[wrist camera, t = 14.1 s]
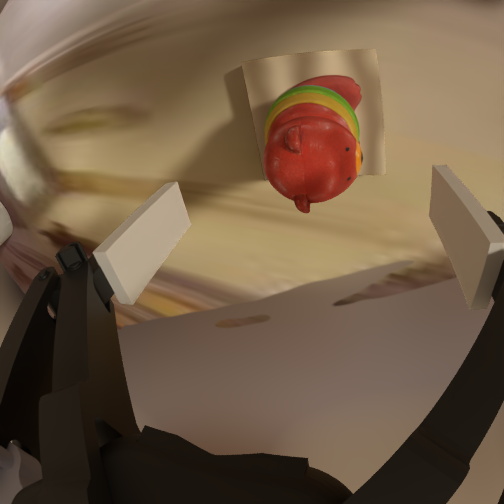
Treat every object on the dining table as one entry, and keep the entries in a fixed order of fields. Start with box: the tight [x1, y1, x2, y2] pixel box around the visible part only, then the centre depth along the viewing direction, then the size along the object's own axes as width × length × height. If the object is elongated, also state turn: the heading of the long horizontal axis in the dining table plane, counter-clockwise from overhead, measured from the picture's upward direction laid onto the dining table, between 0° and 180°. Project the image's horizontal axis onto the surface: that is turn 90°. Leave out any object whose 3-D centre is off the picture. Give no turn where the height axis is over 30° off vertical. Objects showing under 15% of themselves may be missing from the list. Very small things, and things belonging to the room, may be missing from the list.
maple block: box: [241, 49, 386, 180], centre depth 34 cm, size 16×16×4 cm
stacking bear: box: [263, 75, 363, 213], centre depth 26 cm, size 11×10×18 cm
